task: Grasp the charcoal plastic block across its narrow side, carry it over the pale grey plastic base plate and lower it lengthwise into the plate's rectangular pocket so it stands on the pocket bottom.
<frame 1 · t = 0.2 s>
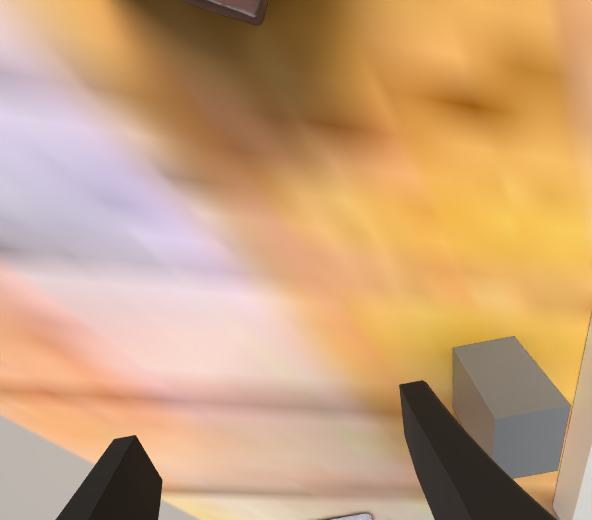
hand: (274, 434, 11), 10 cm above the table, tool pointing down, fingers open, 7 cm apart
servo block: (481, 372, 25), on the table
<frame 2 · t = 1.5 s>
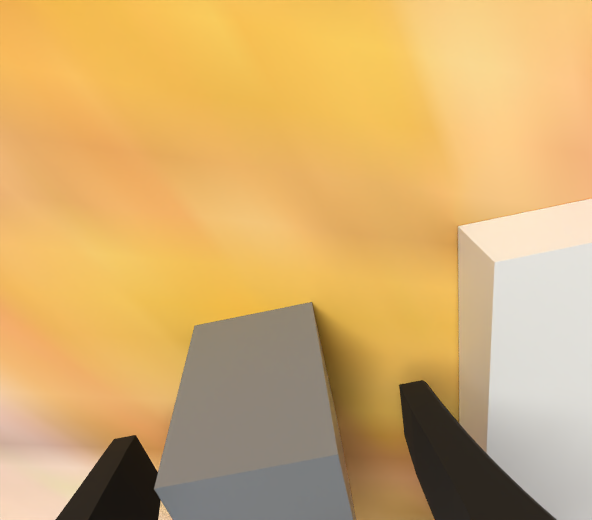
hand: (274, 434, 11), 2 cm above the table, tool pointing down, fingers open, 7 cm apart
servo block: (272, 374, 13), on the table
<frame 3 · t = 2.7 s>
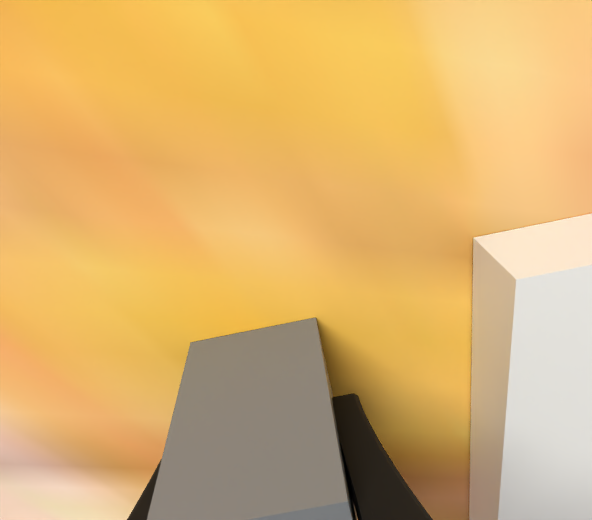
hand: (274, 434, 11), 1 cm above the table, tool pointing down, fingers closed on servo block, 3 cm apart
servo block: (273, 394, 12), on the table, touching gripper
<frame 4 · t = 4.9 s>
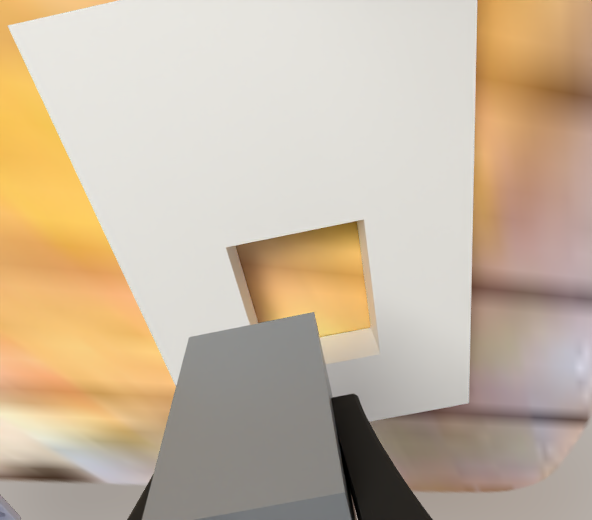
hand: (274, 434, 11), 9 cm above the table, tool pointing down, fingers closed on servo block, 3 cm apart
base plate: (298, 244, 18), on the table
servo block: (271, 389, 12), point 7 cm above the table, touching gripper
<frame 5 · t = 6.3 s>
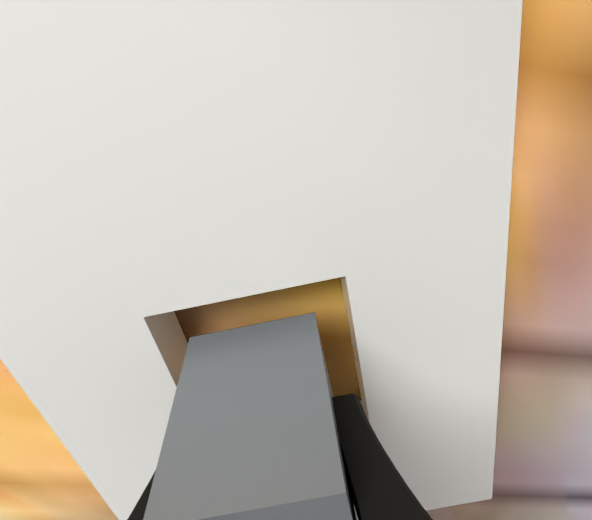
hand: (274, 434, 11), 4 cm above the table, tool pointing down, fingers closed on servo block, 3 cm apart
base plate: (258, 299, 13), on the table
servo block: (272, 389, 12), point 2 cm above the table, touching gripper
when the fingers open (3 cm above the table, at t = 7.3 s): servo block drops 2 cm, resting in base plate.
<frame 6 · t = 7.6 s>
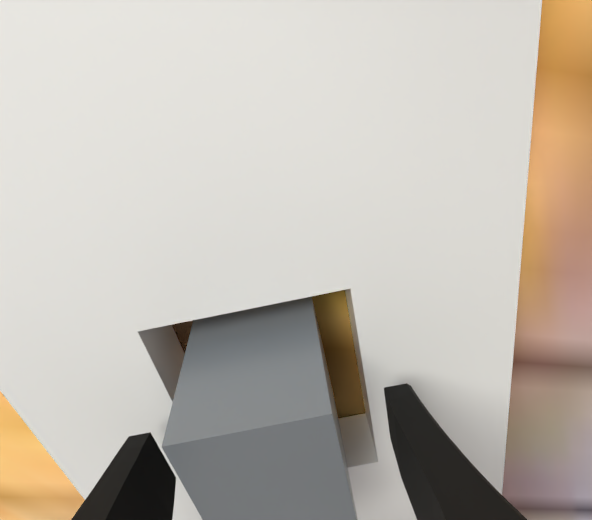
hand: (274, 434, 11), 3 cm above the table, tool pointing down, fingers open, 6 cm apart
base plate: (258, 310, 13), on the table
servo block: (271, 353, 14), resting in base plate
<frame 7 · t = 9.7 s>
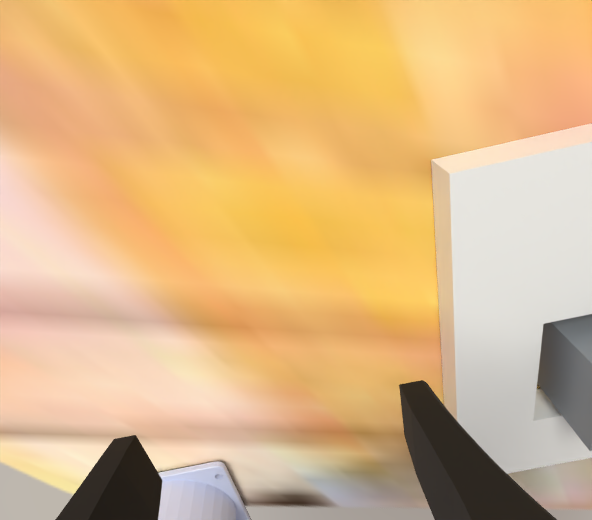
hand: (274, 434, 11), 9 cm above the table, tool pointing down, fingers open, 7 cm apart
base plate: (570, 311, 22), on the table
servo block: (565, 337, 23), resting in base plate
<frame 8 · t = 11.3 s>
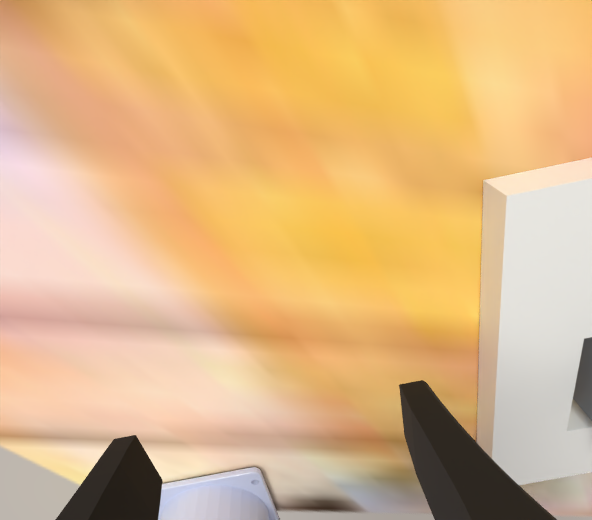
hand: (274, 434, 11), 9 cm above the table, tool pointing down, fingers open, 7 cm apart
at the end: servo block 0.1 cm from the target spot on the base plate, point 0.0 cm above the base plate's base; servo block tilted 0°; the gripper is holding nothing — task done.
